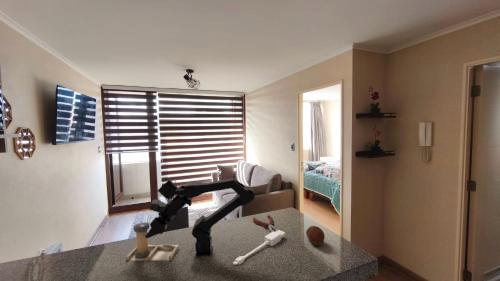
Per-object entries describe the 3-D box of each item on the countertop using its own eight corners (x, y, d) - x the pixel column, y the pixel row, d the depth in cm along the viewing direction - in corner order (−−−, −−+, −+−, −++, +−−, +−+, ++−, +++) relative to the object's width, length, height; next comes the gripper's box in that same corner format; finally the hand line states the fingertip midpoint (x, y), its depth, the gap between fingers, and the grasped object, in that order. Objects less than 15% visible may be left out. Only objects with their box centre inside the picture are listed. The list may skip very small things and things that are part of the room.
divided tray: (178, 250, 100) (178, 244, 100) (171, 262, 91) (171, 255, 91) (137, 250, 100) (137, 244, 100) (126, 262, 91) (125, 255, 91)
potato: (315, 235, 112) (315, 220, 111) (330, 247, 101) (330, 230, 100) (302, 237, 110) (302, 222, 109) (315, 250, 99) (315, 232, 98)
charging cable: (230, 265, 91) (229, 257, 90) (277, 234, 114) (277, 227, 113) (238, 270, 87) (238, 262, 87) (285, 237, 110) (285, 231, 110)
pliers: (265, 236, 112) (265, 231, 112) (252, 221, 131) (252, 216, 131) (285, 233, 116) (285, 228, 116) (269, 218, 135) (269, 214, 135)
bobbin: (152, 250, 98) (151, 222, 97) (146, 258, 92) (144, 228, 91) (139, 250, 98) (138, 222, 98) (132, 258, 92) (130, 228, 92)
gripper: (166, 187, 104) (142, 212, 103) (154, 200, 86) (125, 230, 85) (183, 203, 106) (160, 227, 105) (176, 219, 87) (147, 248, 86)
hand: (149, 232), depth 95 cm, fingers open, 9 cm apart
